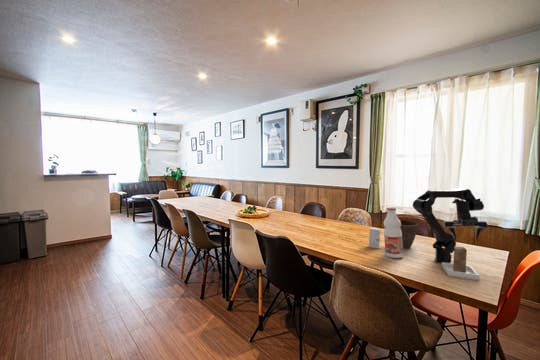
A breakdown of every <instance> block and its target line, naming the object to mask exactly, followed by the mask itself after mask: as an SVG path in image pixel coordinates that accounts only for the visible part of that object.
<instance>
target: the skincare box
mask: <svg viewBox="0 0 540 360" xmlns="http://www.w3.org/2000/svg"><path fill="white" fill-rule="evenodd" d="M368 236H369V237H368V247H369V248H373V249H379V248H380V242H381V241H380V240H381V239H380V238H381V228H376V227H370V228H369V235H368Z"/></svg>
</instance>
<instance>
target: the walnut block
mask: <svg viewBox="0 0 540 360" xmlns="http://www.w3.org/2000/svg"><path fill="white" fill-rule="evenodd" d="M467 250H468V249H466V248H465V246H464V247H462V246H457V245H456V246H454V252H453V263H452V264H453V270H454V271H457V272H464V273H466V265H467V254H468V253H467Z"/></svg>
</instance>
